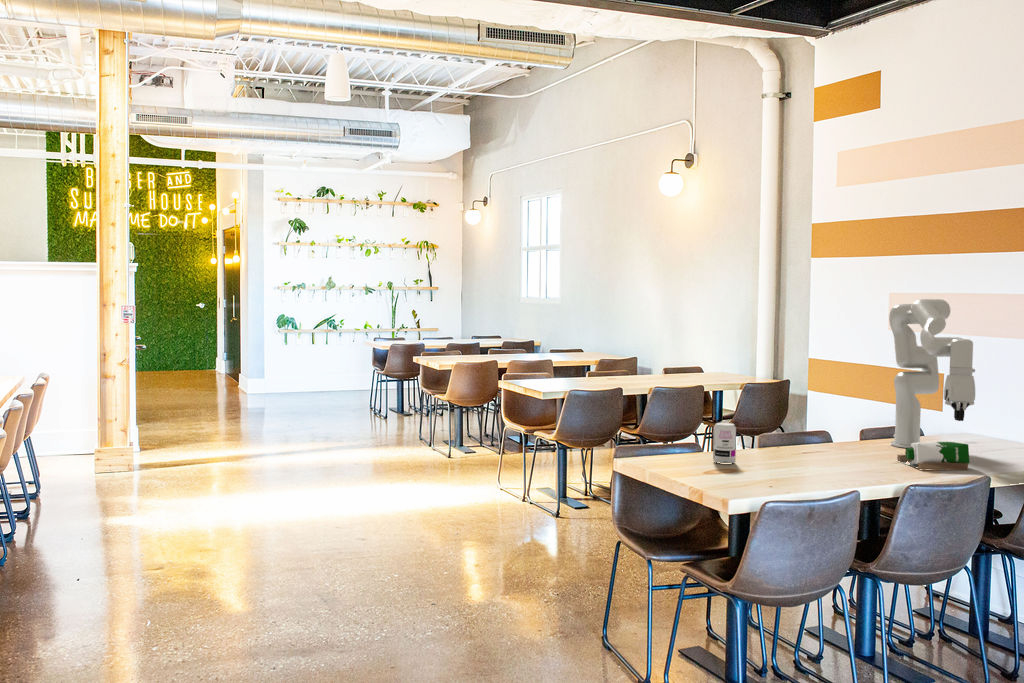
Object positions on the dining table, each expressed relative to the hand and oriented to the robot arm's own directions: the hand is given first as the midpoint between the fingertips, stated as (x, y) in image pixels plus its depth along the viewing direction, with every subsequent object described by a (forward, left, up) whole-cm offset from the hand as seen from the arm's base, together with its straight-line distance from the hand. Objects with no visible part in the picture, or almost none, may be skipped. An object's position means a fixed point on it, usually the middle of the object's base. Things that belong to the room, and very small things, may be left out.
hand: (959, 420), depth 321 cm
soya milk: (+5, 0, -12) cm, 13 cm away
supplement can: (-8, -87, -17) cm, 89 cm away
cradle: (0, -10, -17) cm, 20 cm away
